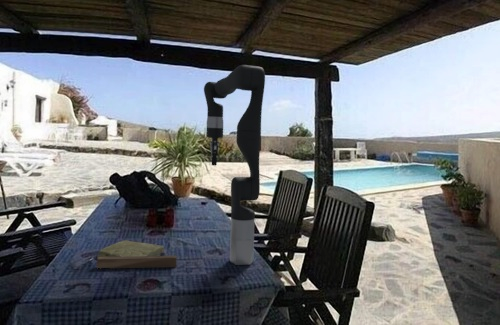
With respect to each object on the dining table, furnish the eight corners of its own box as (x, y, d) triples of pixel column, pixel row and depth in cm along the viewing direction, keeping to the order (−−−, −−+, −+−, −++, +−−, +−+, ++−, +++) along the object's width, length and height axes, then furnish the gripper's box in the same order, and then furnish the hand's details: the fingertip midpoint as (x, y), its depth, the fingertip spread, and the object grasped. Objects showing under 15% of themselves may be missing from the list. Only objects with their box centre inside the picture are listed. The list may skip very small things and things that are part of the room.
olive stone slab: (123, 246, 161) (123, 238, 161) (164, 252, 155) (164, 244, 155) (93, 260, 144) (93, 251, 143) (138, 267, 138) (138, 258, 137)
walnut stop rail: (176, 266, 138) (176, 257, 138) (97, 268, 134) (96, 259, 134) (176, 264, 141) (176, 255, 140) (98, 266, 136) (98, 257, 136)
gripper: (224, 127, 162) (223, 166, 164) (222, 127, 175) (221, 164, 177) (207, 126, 161) (206, 166, 163) (206, 126, 174) (205, 163, 176)
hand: (214, 165), depth 170 cm, fingers closed
